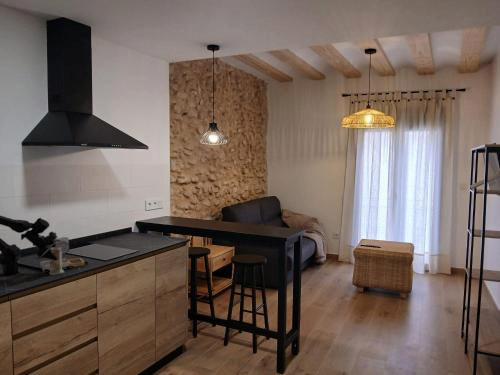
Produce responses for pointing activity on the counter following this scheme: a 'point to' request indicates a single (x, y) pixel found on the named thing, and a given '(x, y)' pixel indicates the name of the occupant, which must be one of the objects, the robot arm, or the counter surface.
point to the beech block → (56, 264)
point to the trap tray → (76, 263)
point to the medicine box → (62, 239)
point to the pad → (56, 273)
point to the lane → (47, 264)
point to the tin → (63, 246)
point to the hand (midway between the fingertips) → (58, 257)
